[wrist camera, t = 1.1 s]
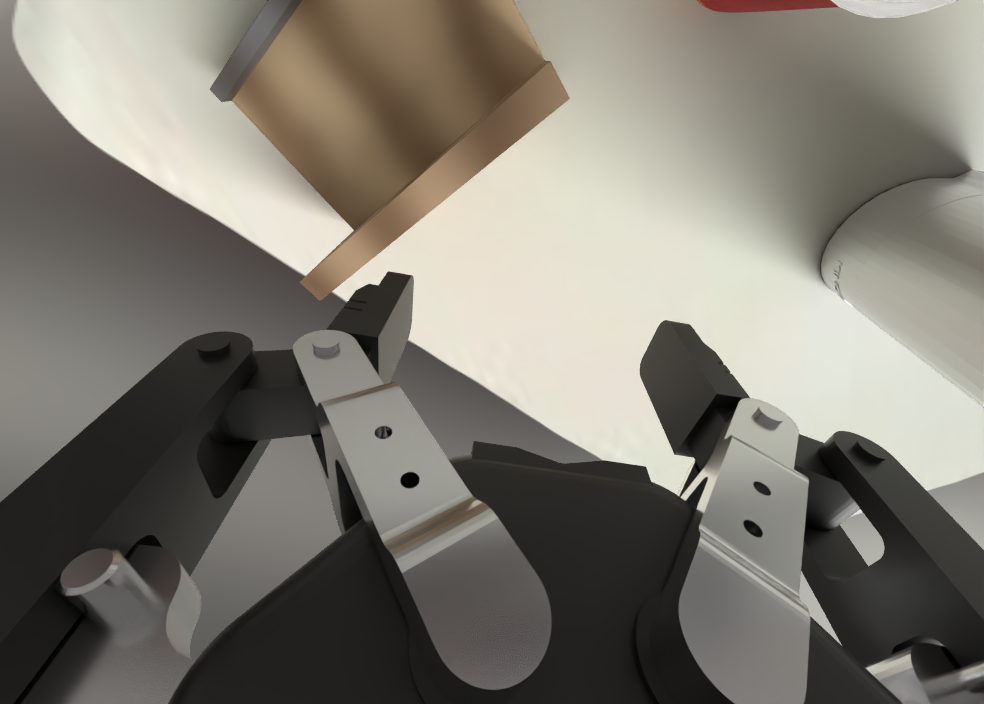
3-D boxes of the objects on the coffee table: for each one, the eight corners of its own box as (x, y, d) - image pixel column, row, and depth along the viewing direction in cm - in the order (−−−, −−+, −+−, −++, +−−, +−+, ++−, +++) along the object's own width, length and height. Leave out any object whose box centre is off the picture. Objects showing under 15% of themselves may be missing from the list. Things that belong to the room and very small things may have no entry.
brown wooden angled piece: (423, -168, 18) (326, -370, 10) (556, 84, 24) (569, 98, 15) (244, 86, 26) (96, 99, 17) (379, 234, 31) (320, 300, 23)
